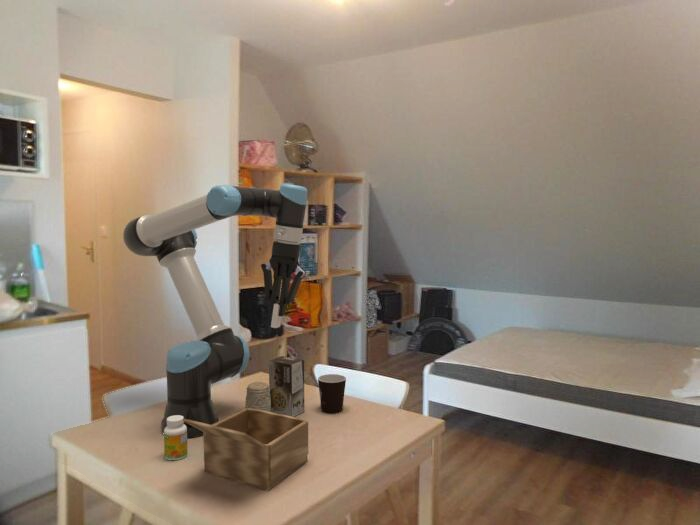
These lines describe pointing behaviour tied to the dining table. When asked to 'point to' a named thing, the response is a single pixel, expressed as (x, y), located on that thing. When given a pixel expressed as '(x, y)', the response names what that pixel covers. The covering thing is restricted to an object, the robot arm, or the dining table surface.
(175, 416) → the supplement bottle
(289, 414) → the coffee box
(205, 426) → the flap
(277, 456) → the wooden open box
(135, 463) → the dining table surface
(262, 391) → the carving
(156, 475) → the dining table surface
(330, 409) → the coffee mug
